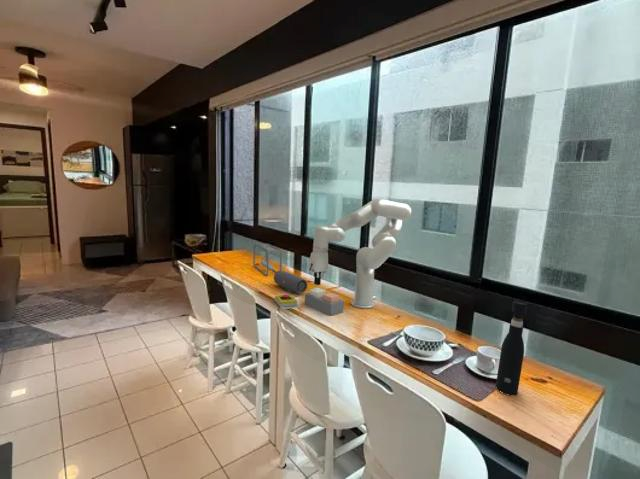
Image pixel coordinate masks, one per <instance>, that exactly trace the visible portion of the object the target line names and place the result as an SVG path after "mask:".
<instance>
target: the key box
mask: <svg viewBox="0 0 640 479" xmlns="http://www.w3.org/2000/svg"><path fill="white" fill-rule="evenodd" d="M304 305H305V306H306V307H309V308H310V309H313V310H316V311H319V312H320V313H323V314H325V315H327V316H329V317H331V316H335V315H339V314H343V313H344V306H345V300H343V299H340V301H337V302H334V303H330V302H327V301H325V300H323V296H322V297H318V298H317V297H315V296H312V295H310V292H308V293H304Z"/></svg>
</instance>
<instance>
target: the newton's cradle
mask: <svg viewBox="0 0 640 479" xmlns="http://www.w3.org/2000/svg"><path fill="white" fill-rule="evenodd" d="M256 247H258V248H260V252H261V253H262V255H263V257H261V258H262V260H261V261H260V265H256ZM263 251H264V252H263ZM271 251H273V252H280V255H279V259H280V260H279V271H282V262H283V251H282V249H280V248H278V247H277V246H274V245H272V244H270V243H254V244H253V261H252V264H253V267H254V268H255V269H256V270H257V271H259V272H260V273H261V274H263V275H264V277H265V276H266V277H268V276H269V271H273V272H274V273H273V274H272V276H274V275H275V273H276V272H277V271H278V270H275V269H274V266H273V265H272V262H271V261H273V259H274V258H272V259H271V257H270V256H272V254H273V256H275V255H274V254H275V253H271ZM270 253H271V255H270ZM260 267H261V268H262V267H264V268H266V272H264V271H263V270H261V269H260Z"/></svg>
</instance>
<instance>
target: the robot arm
mask: <svg viewBox="0 0 640 479" xmlns="http://www.w3.org/2000/svg"><path fill="white" fill-rule="evenodd" d="M411 215H412V208H411V207H410V206H409V205H408V204H407V203H401V202H397V201H391V200H387V199H384V198H383V199H382V198H374V199H372V200H371V201H369V202H368V203H366V204H364V205H362V206H361V207H360V208H358V209H357V210H355V211H354V212H352V213H349V214H347V215H345V216H343V217H341V218H340V219H338V220H336V221H334V222H333V223H332V224H330V225H329V226H326V225H316V226H315V227H314V233H313V234H314V235H313V244H312V252H311V253H310V257H309V261H308V271H309V274H310V275H313V277H314V279H313V284H314V285H316V286H320V285H321V283H322V282H321V281H322V278H323V275H324V274H326V273H327V270H328V268H329V252H328V251H329V241H331V242H336V243H339V242H342V241H343V240H345V238H346V232H347V231H349V230H351V229H354V228H361V227H363V226H366V225H367V224H368V223H369V222H371V221H373V220H374V219H376V218H377V217H379V216H380V217H384V218H387V221H386V223H385V224H384V225H383V227H381V229H380V230H379V231H378V232H377V233H376V234H375V235H374V236H373V238H371V246H372V248H371V247H367V246H364V247H361V248H359V250H357V252H356V256H355V257H356V259H355V260H356V273H355V283H354V284H355V285H354V298H353V299H352V300H351V301H350V304H351V305H352V306H353V307H355V308H358V309H372V308H374V307H375V303H374V300H376V299H377V295H373V292H374V280H375V270H376V269H378V268H379V267H381V266H382V264H384V263H385V262H386V261H387V260H388V258H389V257H390V256H392V254H393V253H394V251H395V250H396V248H397V241H396V239H395V238H396V237H397V236H398V235H399V234H400V232H401V230H402V227H403V221H407V220H408V219H409V218H410V217H411Z"/></svg>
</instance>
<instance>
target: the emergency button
mask: <svg viewBox="0 0 640 479" xmlns="http://www.w3.org/2000/svg"><path fill="white" fill-rule="evenodd" d="M274 302H275V303H276V304H277V305H278V306H279V308H280V309H282V310H288V309H298V308H299V305H298V300H297V299H296V298H295V297H294V296H293V295H292V294H283V295H281V294H278V295H275V298H274Z"/></svg>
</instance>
